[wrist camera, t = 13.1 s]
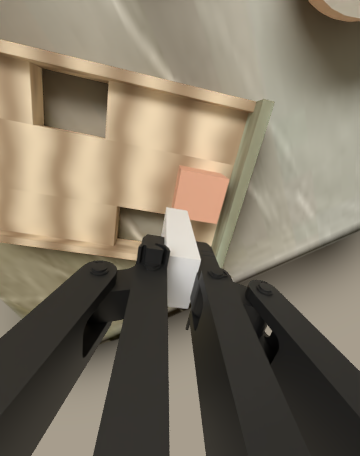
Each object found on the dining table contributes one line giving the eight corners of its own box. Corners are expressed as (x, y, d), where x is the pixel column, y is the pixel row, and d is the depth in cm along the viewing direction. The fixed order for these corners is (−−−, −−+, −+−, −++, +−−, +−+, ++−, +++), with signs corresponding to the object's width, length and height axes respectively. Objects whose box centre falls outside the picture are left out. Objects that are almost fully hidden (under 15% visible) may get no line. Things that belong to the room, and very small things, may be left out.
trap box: (5, 227, 32) (-29, 247, 26) (-18, 43, 23) (-75, 15, 18) (210, 257, 36) (218, 279, 30) (253, 108, 27) (275, 101, 22)
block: (171, 206, 29) (172, 216, 26) (179, 165, 27) (181, 169, 24) (210, 213, 30) (216, 224, 26) (221, 173, 28) (229, 179, 24)
